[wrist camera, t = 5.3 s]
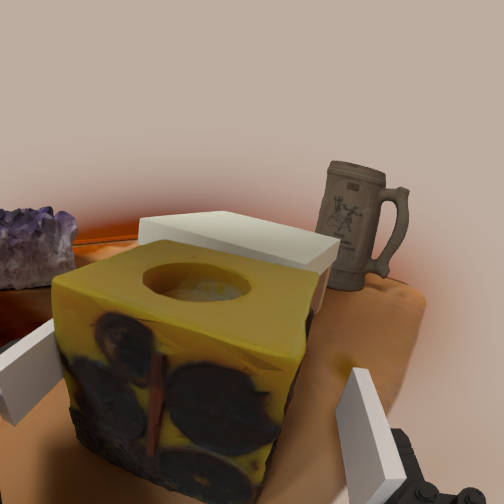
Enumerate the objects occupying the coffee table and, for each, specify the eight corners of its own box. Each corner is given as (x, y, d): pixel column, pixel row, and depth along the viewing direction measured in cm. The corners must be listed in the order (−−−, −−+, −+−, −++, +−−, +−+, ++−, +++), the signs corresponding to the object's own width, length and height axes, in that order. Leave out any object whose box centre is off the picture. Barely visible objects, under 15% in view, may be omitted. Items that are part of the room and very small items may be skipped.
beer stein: (290, 276, 50) (323, 153, 45) (309, 264, 59) (337, 162, 54) (379, 310, 44) (421, 182, 39) (384, 292, 53) (417, 186, 48)
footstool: (134, 305, 31) (140, 218, 29) (214, 273, 45) (223, 210, 43) (280, 368, 25) (306, 264, 23) (323, 308, 39) (340, 239, 37)
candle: (287, 405, 20) (324, 272, 18) (253, 521, 11) (316, 364, 8) (155, 364, 22) (164, 235, 20) (73, 444, 13) (45, 274, 10)
